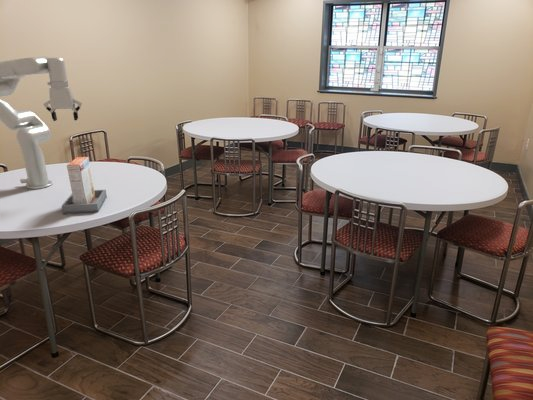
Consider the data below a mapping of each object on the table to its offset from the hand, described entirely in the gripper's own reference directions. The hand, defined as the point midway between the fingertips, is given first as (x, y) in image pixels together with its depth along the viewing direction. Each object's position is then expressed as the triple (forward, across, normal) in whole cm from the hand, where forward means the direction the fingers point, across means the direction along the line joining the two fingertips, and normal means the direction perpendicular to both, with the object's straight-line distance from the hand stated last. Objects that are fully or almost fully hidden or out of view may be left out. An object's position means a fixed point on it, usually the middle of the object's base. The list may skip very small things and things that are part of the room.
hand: (65, 120), depth 202 cm
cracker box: (+36, +10, -25) cm, 44 cm away
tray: (+36, +10, -25) cm, 45 cm away
